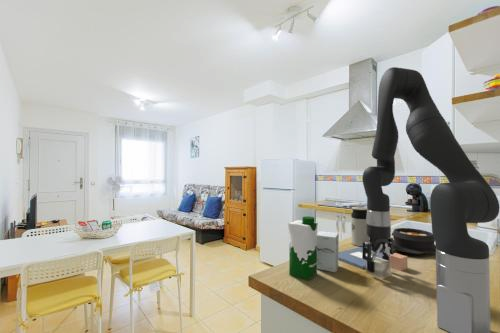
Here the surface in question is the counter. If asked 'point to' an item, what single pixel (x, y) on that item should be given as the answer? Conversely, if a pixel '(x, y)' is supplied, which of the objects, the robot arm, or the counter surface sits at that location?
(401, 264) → the terracotta cube
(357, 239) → the travel mug
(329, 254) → the supplement box
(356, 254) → the blue board
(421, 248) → the casserole
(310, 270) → the milk carton
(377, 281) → the counter surface
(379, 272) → the cream block
